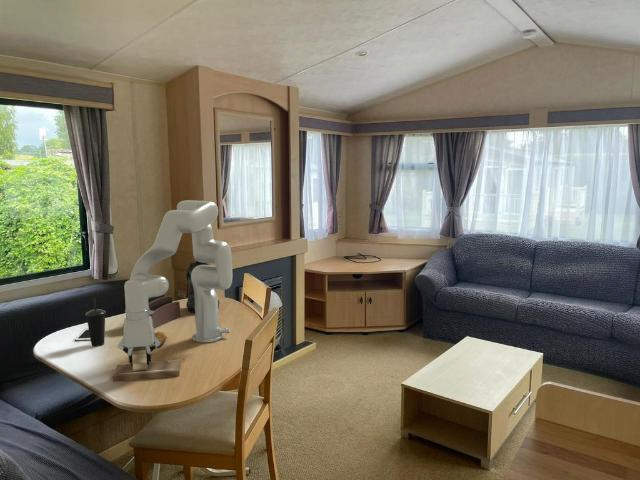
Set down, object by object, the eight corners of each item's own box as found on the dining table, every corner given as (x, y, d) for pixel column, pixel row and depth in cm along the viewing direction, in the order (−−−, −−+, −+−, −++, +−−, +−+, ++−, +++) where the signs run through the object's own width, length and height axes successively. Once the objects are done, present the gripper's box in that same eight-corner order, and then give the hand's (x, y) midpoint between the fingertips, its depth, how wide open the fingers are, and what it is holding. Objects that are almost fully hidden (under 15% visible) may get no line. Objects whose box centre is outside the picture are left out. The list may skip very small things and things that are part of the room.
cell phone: (73, 342, 209) (73, 340, 209) (85, 330, 224) (85, 328, 224) (93, 341, 210) (93, 339, 210) (103, 329, 225) (103, 327, 225)
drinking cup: (95, 349, 201) (91, 301, 197) (83, 345, 205) (80, 298, 201) (112, 343, 207) (108, 296, 204) (100, 339, 211) (97, 293, 208)
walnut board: (180, 364, 186) (180, 359, 185) (179, 375, 176) (179, 370, 176) (117, 370, 181) (117, 364, 180) (112, 381, 171) (112, 376, 171)
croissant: (151, 338, 214) (151, 327, 213) (168, 336, 216) (167, 325, 215) (149, 349, 201) (148, 337, 200) (167, 348, 203) (166, 336, 202)
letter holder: (135, 326, 228) (133, 296, 226) (164, 314, 247) (162, 286, 244) (153, 329, 225) (151, 299, 223) (180, 316, 243) (179, 288, 241)
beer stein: (211, 315, 245) (209, 265, 241) (175, 312, 250) (172, 263, 246) (225, 305, 261) (223, 258, 257) (191, 303, 266) (189, 257, 262)
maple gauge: (148, 364, 180) (147, 345, 179) (146, 369, 176) (145, 350, 175) (134, 365, 179) (133, 346, 178) (133, 370, 175) (131, 351, 174)
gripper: (163, 309, 180) (166, 358, 183) (113, 313, 176) (116, 362, 179) (162, 316, 173) (164, 366, 176) (109, 319, 169) (113, 370, 172)
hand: (140, 363), depth 177 cm, fingers closed on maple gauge, 4 cm apart
